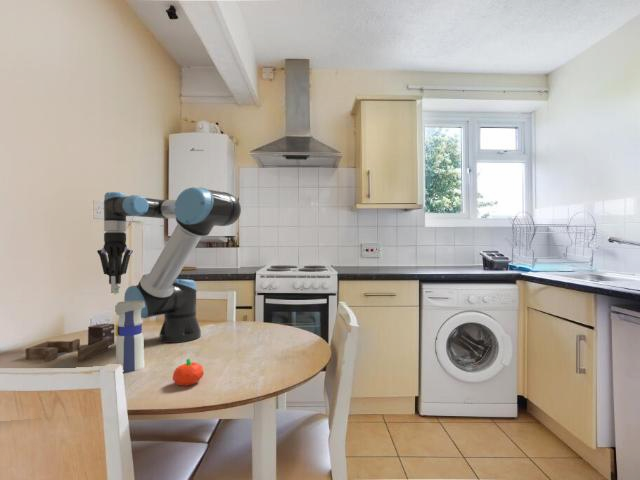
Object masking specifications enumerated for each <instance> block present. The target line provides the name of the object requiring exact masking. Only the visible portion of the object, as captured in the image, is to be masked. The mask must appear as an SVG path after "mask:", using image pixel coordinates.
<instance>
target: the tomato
mask: <svg viewBox="0 0 640 480" xmlns="http://www.w3.org/2000/svg"><path fill="white" fill-rule="evenodd" d="M203 376H204V369H203V366H202V365H201V364H200V363H198V362H194V361H193V362H191V359H190V358H187V359H186V363H184V364H181V365H180V366H178V367H175V370H174V371H173V374H172V381H173V382H174V383H175V384H176V385H178V386H191V385H194V384H196V383H197V382H199V381H200V380H201V379H202V378H203Z"/></svg>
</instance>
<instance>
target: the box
mask: <svg viewBox="0 0 640 480" xmlns="http://www.w3.org/2000/svg"><path fill="white" fill-rule="evenodd" d="M87 328H88V329H87V347H88V346H90V345H92V344H95V343H97V342H99V341H102V340H104V339H109V346H110V345H114V344H115V324H114V323H98V324H93V325H90V326H88V327H87Z"/></svg>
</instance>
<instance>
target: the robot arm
mask: <svg viewBox="0 0 640 480" xmlns="http://www.w3.org/2000/svg"><path fill="white" fill-rule="evenodd" d="M241 212H242V207H241V204H240V201H239V200H238V199H237V198H236V197H235V196H234V195H233V194H232V193H229V192H224V191H219V190H212V189H207V188H205V187H187V188H186V189H184V190H182V192H180V194H179V195H178V196H177V198H176V199H159V198H152V197H151V198H149V197H143V195H134V194H131V195H128V196H127V195H126V193H124V192H119V191H118V192H117V191H108V192H107V191H106V192H105V194H104V199H103V217H104V218H103V219H104V220H103V231H104V233H103V242H104V245H103V246H102V247H103V248H101V249H98V250H97V251H96V252H97V254H98V256H99V258H100V263H101V267H102V272H103V274H104V275H107V276H108V284H109V285H110V294H115V289H114V288H115V287H116V285H117V283H118V286H120V285H121V284H122V283H121V282H122V276H123V275H125V274H127V269H128V266H129V262H130V258H131V256H132V254H133V252H134V251H133V249H130V248H128V245H127V233H126V232H127V217H141V218H155V219H164V220H165V219H167V220H168V219H175V221H176V224H177V225H176V226H175V228H174V230H173V231H172V234H171V235H170V237H169V239H168V240H167V242H166V244H165V246H164V248H163V250H162V251H161V253H160V255H159V257H158V258H157V260H156V262H155V263H154V265H153V266H152V268H151V270H150V272H149V273H147V274H144V275H142V277H141V279H140V280H139V282H138V284H137V285H131V286H128V287H127V288H126V290H125V292H124V296H123V297H124V298H123V299H124V301H144V303H145V307H144V308H142V310H141V318H142V319H147V318H152V317H157V316H162V315H164V316H163V317H164V319H163V322H162V325H161V328H160V331H159V334H158V335H159V341H160V342H162V343H182V342H189V341H194V340H196V339H199V338H200V337H202V336H201V335H202V334H201V333H202V331H201V326H200V324H199V321H198V318H197V291H198V289H197V284H196V281H195V280H193V279H182V278H178V277H179V275H180V273H181V272H182V270H183V268H184V267H185V265H186V263H187V262H188V261H189V259H190V257H191V255H192V254H193V251H194V250H195V249H196V247H197V245H198V243H199V242H200V240H201V238H204V237H207V236H209V235H210V234H211V232H212V230H213V228H214V227H215V226H216V227H226V226H231V225H233V224H235V223H236V222H237V220H238V219H239V218H240V216H241ZM118 291H119V292H120V288H119V289H118ZM124 301H123V302H124Z"/></svg>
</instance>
